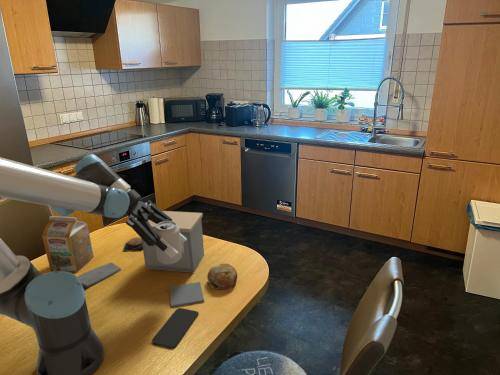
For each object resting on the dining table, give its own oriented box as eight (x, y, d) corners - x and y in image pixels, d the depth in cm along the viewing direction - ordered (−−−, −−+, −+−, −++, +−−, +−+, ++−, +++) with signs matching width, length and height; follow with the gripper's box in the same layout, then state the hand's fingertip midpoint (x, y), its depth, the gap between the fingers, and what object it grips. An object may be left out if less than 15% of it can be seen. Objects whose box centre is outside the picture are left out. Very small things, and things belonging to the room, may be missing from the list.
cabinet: (193, 275, 128) (189, 230, 122) (142, 270, 132) (136, 226, 126) (205, 254, 141) (202, 213, 135) (158, 251, 145) (153, 210, 139)
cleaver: (42, 314, 111) (40, 309, 111) (26, 303, 117) (25, 297, 116) (124, 270, 134) (123, 265, 133) (108, 262, 139) (107, 257, 139)
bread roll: (206, 292, 125) (198, 279, 120) (219, 267, 131) (212, 253, 126) (232, 299, 121) (225, 286, 116) (244, 273, 127) (238, 259, 122)
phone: (200, 311, 109) (174, 347, 96) (200, 314, 110) (174, 350, 96) (177, 307, 112) (149, 341, 98) (178, 309, 112) (150, 344, 99)
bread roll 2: (121, 253, 145) (120, 245, 144) (125, 243, 153) (124, 235, 152) (149, 251, 146) (148, 242, 145) (152, 240, 154) (151, 232, 153)
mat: (204, 301, 114) (204, 299, 114) (171, 307, 112) (170, 305, 112) (200, 283, 124) (200, 281, 123) (169, 288, 121) (169, 286, 121)
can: (152, 259, 116) (148, 224, 112) (173, 250, 121) (169, 217, 116) (166, 268, 111) (162, 232, 107) (186, 259, 116) (183, 224, 111)
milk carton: (93, 257, 142) (84, 211, 135) (77, 272, 132) (66, 224, 125) (68, 255, 144) (58, 210, 137) (50, 270, 134) (38, 222, 127)
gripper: (130, 192, 121) (182, 239, 124) (97, 219, 102) (159, 274, 106) (144, 177, 119) (196, 226, 122) (112, 202, 100) (176, 259, 103)
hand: (179, 248), depth 114 cm, fingers closed on can, 7 cm apart
